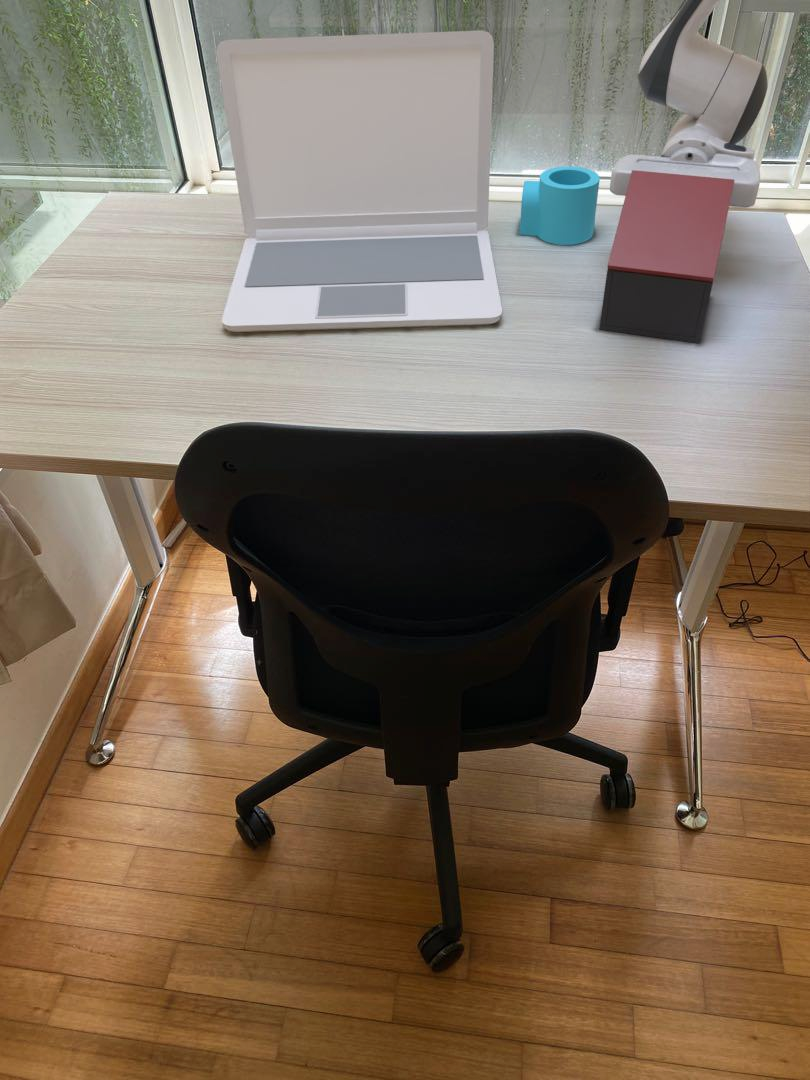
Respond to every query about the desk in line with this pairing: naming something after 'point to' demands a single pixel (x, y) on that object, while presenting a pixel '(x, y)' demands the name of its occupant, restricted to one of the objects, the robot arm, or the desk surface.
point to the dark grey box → (655, 305)
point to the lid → (671, 225)
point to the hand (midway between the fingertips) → (677, 202)
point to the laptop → (361, 180)
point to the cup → (560, 205)
